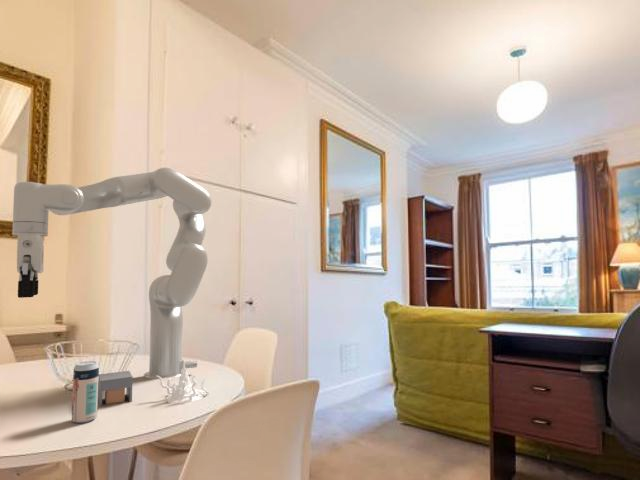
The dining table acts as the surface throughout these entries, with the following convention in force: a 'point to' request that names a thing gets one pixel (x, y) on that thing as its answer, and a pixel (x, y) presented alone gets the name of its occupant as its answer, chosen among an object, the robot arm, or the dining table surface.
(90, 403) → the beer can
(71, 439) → the dining table surface
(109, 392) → the letter cube
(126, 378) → the cover
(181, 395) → the tentacle sculpture
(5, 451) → the dining table surface
